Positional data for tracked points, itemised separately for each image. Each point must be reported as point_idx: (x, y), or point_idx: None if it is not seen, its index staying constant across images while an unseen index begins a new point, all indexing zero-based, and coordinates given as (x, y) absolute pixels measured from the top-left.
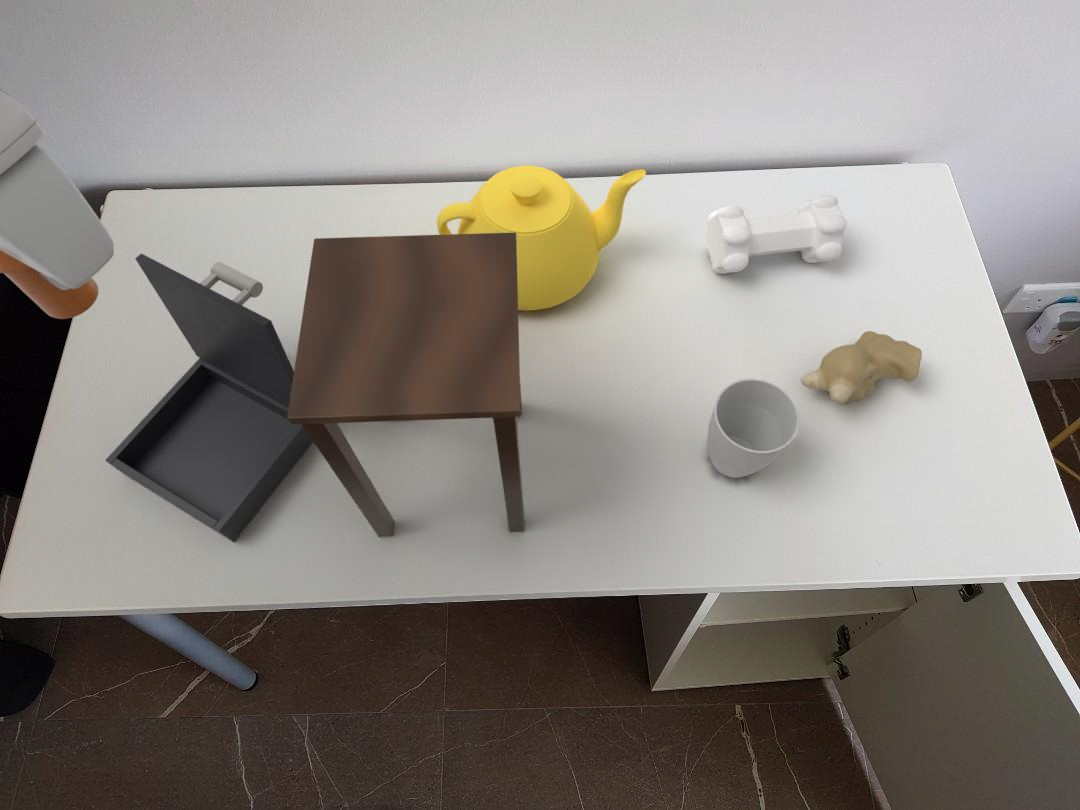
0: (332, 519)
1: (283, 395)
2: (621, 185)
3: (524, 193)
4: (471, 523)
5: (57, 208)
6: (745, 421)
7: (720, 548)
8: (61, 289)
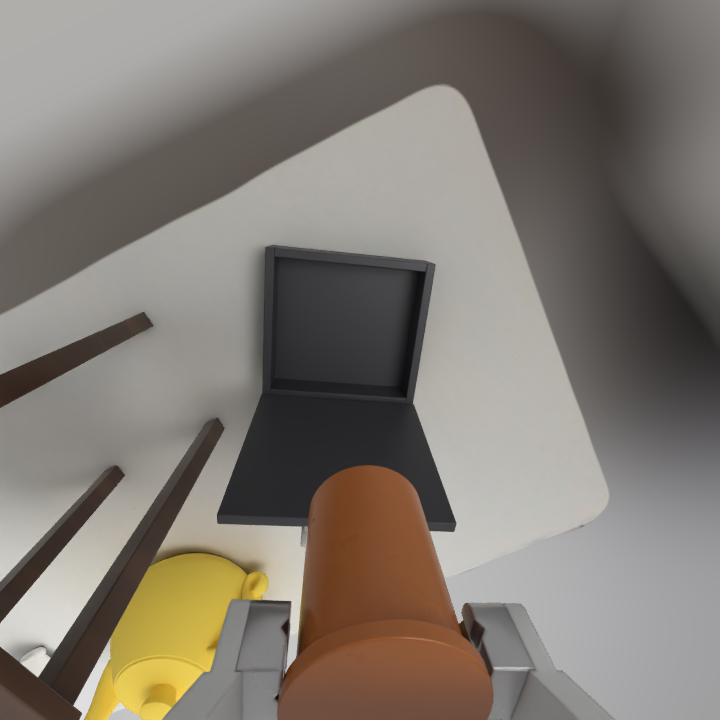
0: (198, 308)
1: (283, 408)
2: None
3: (149, 707)
4: None
5: None
6: None
7: None
8: (229, 604)
